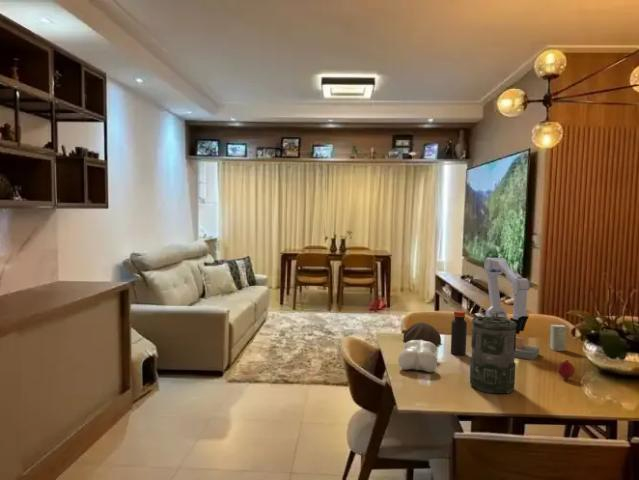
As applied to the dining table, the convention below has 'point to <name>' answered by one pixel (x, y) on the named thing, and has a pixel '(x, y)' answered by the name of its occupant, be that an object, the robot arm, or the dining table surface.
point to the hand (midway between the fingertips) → (518, 332)
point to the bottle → (458, 334)
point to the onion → (566, 369)
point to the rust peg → (519, 342)
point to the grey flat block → (527, 352)
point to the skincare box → (558, 337)
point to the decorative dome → (422, 333)
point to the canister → (493, 354)
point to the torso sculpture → (418, 356)
